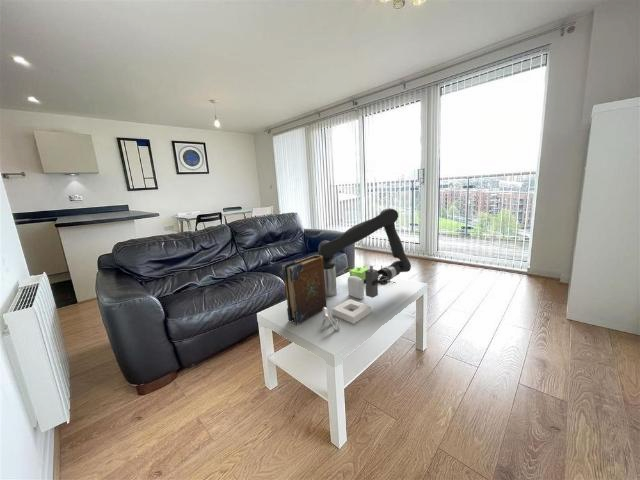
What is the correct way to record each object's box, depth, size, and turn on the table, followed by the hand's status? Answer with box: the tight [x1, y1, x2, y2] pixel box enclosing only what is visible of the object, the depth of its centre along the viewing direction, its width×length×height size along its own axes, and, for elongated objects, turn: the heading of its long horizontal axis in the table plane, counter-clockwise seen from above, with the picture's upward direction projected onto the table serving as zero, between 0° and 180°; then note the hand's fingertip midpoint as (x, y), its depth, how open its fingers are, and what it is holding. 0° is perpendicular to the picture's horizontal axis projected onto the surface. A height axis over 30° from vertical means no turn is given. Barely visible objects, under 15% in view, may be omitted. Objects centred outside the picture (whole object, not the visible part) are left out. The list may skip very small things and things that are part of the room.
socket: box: [332, 298, 372, 324], centre depth 133 cm, size 14×14×4 cm
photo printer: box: [347, 275, 365, 300], centre depth 152 cm, size 10×4×12 cm, turn 39°
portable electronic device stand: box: [321, 307, 340, 332], centre depth 121 cm, size 9×8×8 cm
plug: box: [365, 265, 379, 299], centre depth 135 cm, size 4×4×16 cm
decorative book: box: [281, 254, 328, 326], centre depth 133 cm, size 23×7×30 cm, turn 137°
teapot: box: [348, 264, 369, 285], centre depth 173 cm, size 15×13×11 cm
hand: (368, 282), depth 133 cm, fingers closed on plug, 4 cm apart
